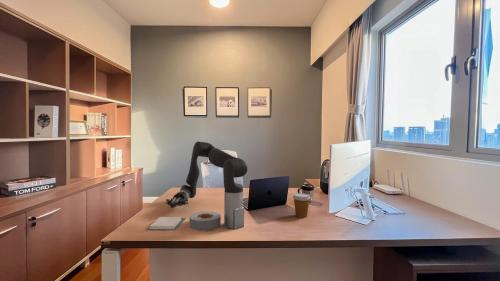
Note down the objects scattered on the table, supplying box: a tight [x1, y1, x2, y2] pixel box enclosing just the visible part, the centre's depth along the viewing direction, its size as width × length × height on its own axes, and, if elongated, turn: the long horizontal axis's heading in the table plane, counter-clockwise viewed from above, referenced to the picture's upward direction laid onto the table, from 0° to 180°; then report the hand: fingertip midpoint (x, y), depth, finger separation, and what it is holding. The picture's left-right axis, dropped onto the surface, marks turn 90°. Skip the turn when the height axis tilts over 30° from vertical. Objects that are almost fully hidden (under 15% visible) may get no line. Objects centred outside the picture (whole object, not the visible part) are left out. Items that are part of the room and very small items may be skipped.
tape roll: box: [188, 211, 222, 232], centre depth 129 cm, size 15×15×5 cm
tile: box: [149, 216, 182, 231], centre depth 128 cm, size 11×2×13 cm
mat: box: [146, 217, 187, 232], centre depth 130 cm, size 14×18×1 cm
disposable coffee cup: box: [292, 192, 311, 219], centre depth 145 cm, size 10×10×12 cm
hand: (172, 205), depth 138 cm, fingers closed
